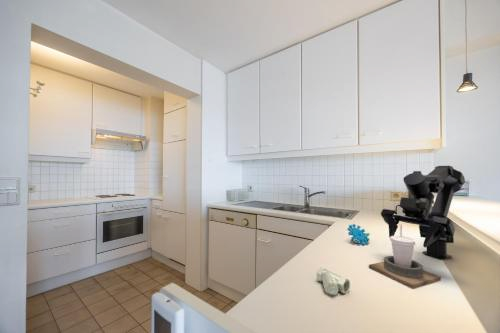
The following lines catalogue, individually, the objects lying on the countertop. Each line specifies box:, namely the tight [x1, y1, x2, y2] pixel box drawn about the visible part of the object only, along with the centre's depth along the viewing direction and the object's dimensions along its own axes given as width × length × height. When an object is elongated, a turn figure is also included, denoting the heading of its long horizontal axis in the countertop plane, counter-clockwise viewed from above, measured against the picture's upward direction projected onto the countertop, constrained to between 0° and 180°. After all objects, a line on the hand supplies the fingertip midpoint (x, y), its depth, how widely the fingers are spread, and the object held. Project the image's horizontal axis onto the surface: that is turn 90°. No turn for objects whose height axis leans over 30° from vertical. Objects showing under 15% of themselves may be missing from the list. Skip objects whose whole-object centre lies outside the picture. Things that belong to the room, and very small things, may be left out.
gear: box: [347, 223, 371, 246], centre depth 93 cm, size 11×6×10 cm
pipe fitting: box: [316, 267, 351, 296], centre depth 55 cm, size 8×4×7 cm
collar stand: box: [368, 255, 442, 290], centre depth 64 cm, size 13×13×4 cm
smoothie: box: [389, 223, 416, 268], centre depth 64 cm, size 6×6×14 cm
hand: (406, 242), depth 65 cm, fingers open, 9 cm apart
